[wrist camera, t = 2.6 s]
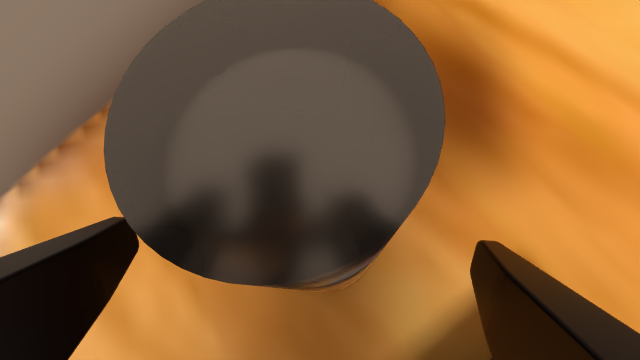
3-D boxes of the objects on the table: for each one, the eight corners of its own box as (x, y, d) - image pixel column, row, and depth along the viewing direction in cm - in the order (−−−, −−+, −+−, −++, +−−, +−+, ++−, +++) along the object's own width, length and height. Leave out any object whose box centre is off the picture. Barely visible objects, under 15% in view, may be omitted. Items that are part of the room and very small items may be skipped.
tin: (396, 258, 17) (525, 159, 5) (303, 313, 16) (169, 369, 4) (342, 173, 19) (331, -60, 6) (257, 220, 18) (69, 65, 6)
